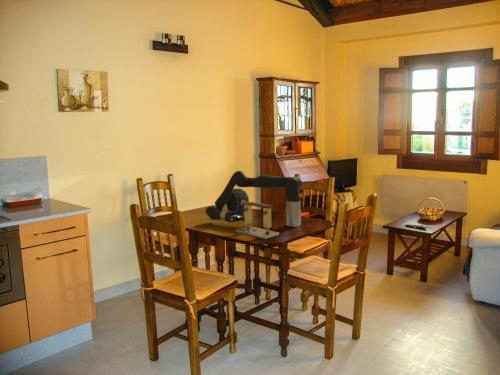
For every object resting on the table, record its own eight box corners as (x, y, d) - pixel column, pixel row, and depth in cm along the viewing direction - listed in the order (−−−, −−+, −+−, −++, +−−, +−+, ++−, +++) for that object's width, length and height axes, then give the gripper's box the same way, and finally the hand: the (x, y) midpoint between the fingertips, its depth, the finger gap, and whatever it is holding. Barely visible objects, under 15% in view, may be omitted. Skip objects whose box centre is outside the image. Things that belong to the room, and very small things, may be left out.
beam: (244, 203, 306) (244, 200, 306) (271, 208, 290) (271, 204, 289) (240, 204, 304) (240, 200, 304) (268, 209, 287) (268, 205, 287)
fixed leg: (267, 232, 295) (267, 207, 293) (271, 233, 293) (271, 207, 290) (262, 233, 292) (261, 208, 289) (266, 234, 289) (266, 209, 287)
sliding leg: (248, 227, 307) (248, 204, 304) (252, 228, 304) (251, 205, 302) (243, 229, 303) (242, 205, 301) (247, 230, 301) (246, 206, 299)
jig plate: (249, 228, 313) (249, 226, 312) (279, 234, 295) (279, 232, 294) (235, 231, 304) (235, 229, 303) (265, 238, 286) (265, 236, 285)
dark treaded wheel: (236, 211, 368) (235, 186, 365) (250, 215, 352) (250, 189, 349) (224, 213, 362) (223, 187, 359) (238, 217, 346) (238, 191, 343)
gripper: (220, 212, 311) (239, 215, 299) (235, 209, 321) (253, 212, 309) (221, 223, 312) (239, 227, 300) (235, 219, 322) (253, 223, 310)
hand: (246, 219), depth 305 cm, fingers closed
